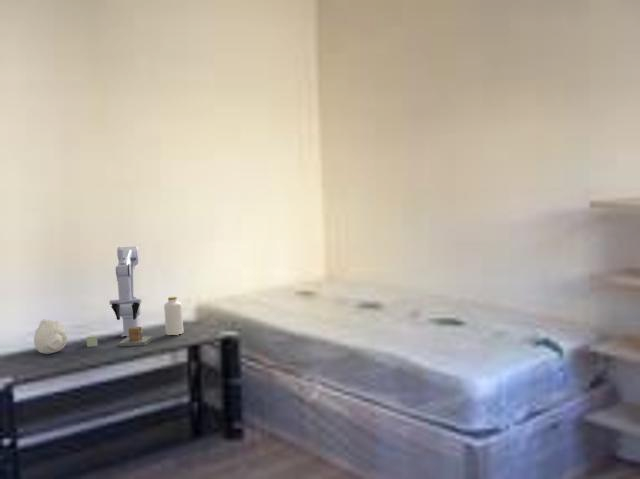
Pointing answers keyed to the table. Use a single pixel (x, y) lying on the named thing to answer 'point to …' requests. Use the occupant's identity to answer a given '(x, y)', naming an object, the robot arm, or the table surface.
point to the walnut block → (135, 334)
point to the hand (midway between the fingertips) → (126, 319)
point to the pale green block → (91, 340)
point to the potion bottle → (173, 317)
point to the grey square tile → (136, 343)
